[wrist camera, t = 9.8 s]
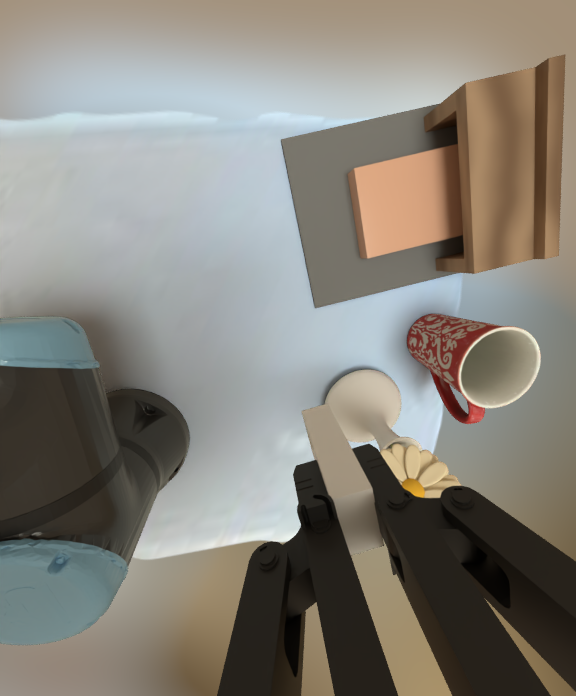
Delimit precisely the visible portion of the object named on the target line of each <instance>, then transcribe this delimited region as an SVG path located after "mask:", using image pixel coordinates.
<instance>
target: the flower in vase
mask: <svg viewBox="0 0 576 696" xmlns="http://www.w3.org/2000/svg"><path fill="white" fill-rule="evenodd" d="M325 404H328V405H329V407H330V409H331V411H332V413H333V414H334V416H335V418H336V420H337V422H338V424H339V426H340V428H341V430H342V432H343V433H344V435H345V437H346V439H347V440H348V441H352V442H368V441H372V440H375V439H376V441H377V443H378V445H379V448H380V453H381V455H382V456H383V458H384V459H385V461H386V463H387V464H388V466H389V467H390V469H391V470H392V472H393V473H394V475H395V476H396V478H397V479H398V481H399V482H400V484H401V485H402V487H403V488H404V489H406V490H408V491H410V492H411V493H412V494H413V495H414V496H418V497H422V498H440V496H441V493H442V491H443V490H445V489H446V488H448V487H451V486H461V484H460V483H459V482H458V479H457V478H456V477H455V476H453V475H448V468H447V466H446V464H444V463H443V462H438V458H437V457H436V456H435V455H433V454H431V452H430V451H428V450H422V447H421V445H420V444H419V443H418V442H417V441H416V440H414V439H412V438H409V437H400V436H398V435H397V434H396V433H394V432H393V431H392V430H391V428H392V427H393V426H394V424H395V423H396V421H397V419H398V417H399V415H400V411H401V396H400V392H399V389H398V387H397V385H396V384H395V382H394V381H393V380H392V379H391V378H390V377H389V376H387V375H386V374H384V373H382V372H379V371H376V370H358V371H355V372H352V373H349V374H347V375H346V376H344V377H342V378H341V379H340V380H338V381H337V382H336V383H335V384H334V386H333V387H332V388H331V390H330V391H329V393H328V395H327V398H326V401H325Z"/></svg>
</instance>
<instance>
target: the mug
mask: <svg viewBox="0 0 576 696" xmlns="http://www.w3.org/2000/svg"><path fill="white" fill-rule="evenodd" d="M407 346H408V349H409V352H410V353H411V355H412V356H413V357H414V358H415V359H416V360H417V361H419V362H420V363H422V364H423V365H424V366H426V367H427V368H428V369H430V372H431V374H432V377H433V380H434V383H435V385H436V388H437V390H438V392H439V395H440V397H441V399H442V401H443V403H444V405H445V406H446V408H447V409H448V411H449V412H450V414H452V416H453V417H454V418H455V419H457V420H458V421H460V422H462V423H465V424H471V423H477V422H479V421H481V420H482V418H483V417H484V413H485V408H496V407H501V406H504V405H507V404H509V403H512V402H514V401H515V400H517V399H518V398H519V397H521V396H522V395H523V394H524V393H525V392H526V391H527V390H528V389H529V388H530V386H531V385H532V383H533V382H534V380H535V378H536V376H537V374H538V371H539V367H540V349H539V346H538V344H537V341H536V340H535V339H534V337H533V336H532V335H531V334H530V333H528V332H527V331H525V330H523V329H521V328H518V327H513V326H498V325H494V324H488V323H483V322H477V321H472V320H467V319H461V318H456V317H451V316H446V315H442V314H429V315H425V316H423V317H421V318H420V319H418V320H417V321H416V322H415V323H414V324H413V326H412V327H411V329H410V331H409V333H408V337H407ZM449 385H451V386H452V387H453V388H454V389H456V390H458V391H459V392H460V393H461V394H462V395H463V396H464V398H466V400H467V403H468V408H469V413H468V414H467V413H466V412H465V411H464V410H463V409H462V408H461V406H460V405H459V403H458V401H457V400H456V398H455V396H454V394H453V392H452V390H451V388H450V386H449Z"/></svg>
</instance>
